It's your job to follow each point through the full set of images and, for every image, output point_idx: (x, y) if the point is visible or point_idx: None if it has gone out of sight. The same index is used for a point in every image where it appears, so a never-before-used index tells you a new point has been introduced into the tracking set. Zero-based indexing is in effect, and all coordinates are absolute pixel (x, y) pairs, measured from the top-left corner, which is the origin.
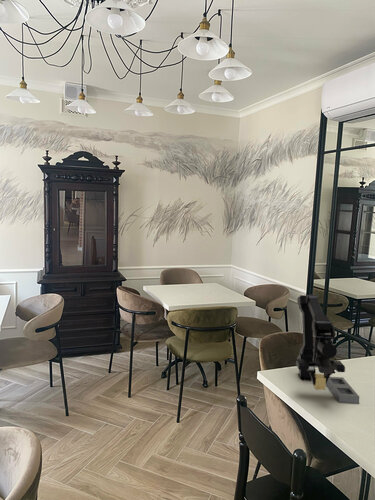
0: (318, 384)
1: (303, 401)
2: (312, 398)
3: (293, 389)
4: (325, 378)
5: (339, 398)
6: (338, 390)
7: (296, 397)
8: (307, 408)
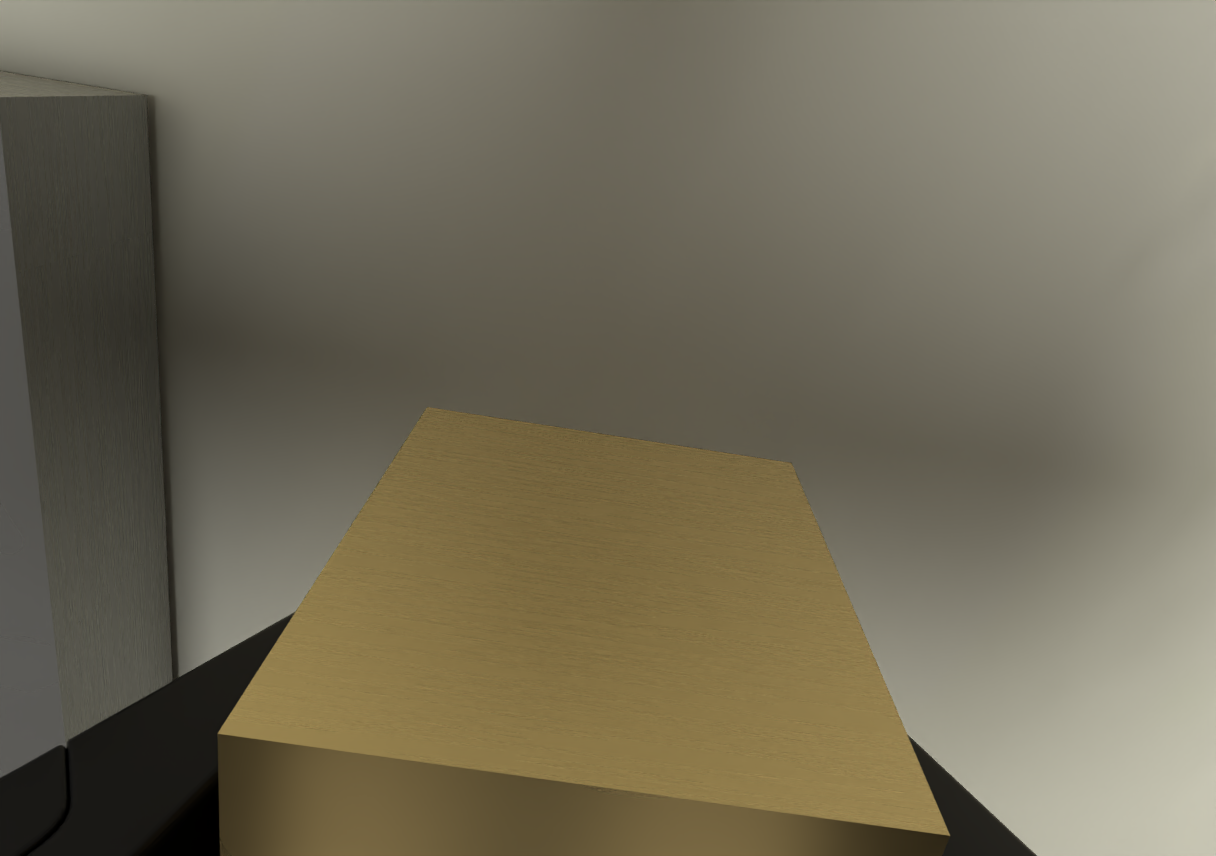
0: (706, 545)
1: (1139, 243)
2: (791, 388)
3: (1017, 794)
4: (252, 723)
5: (57, 91)
6: None
7: (1191, 457)
8: None
